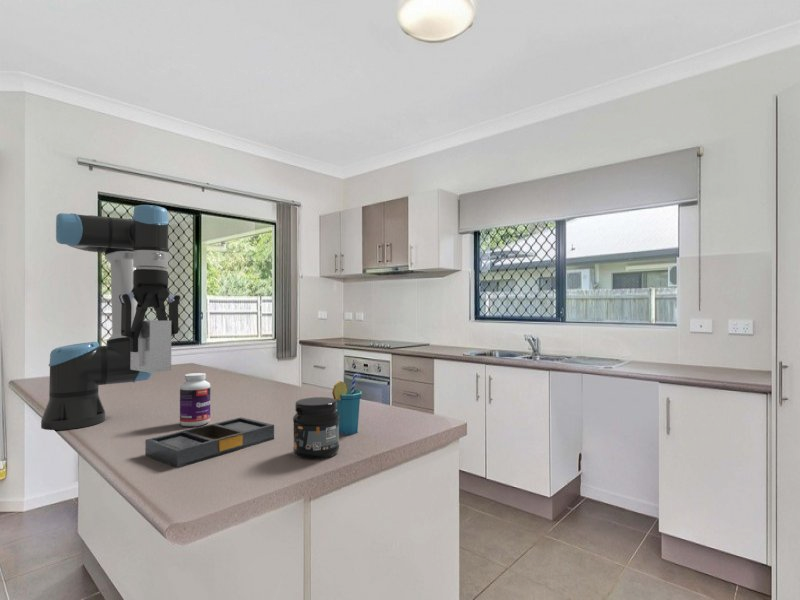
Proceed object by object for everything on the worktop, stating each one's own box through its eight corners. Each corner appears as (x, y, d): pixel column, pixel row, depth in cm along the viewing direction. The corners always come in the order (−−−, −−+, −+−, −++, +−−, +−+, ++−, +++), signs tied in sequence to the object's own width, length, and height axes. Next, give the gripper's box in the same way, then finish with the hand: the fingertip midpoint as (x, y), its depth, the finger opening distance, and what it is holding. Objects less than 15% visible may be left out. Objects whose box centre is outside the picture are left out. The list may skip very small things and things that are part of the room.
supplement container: (299, 445, 107) (299, 396, 108) (342, 446, 107) (342, 396, 107) (287, 461, 97) (287, 406, 97) (335, 461, 96) (334, 406, 97)
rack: (145, 455, 101) (145, 439, 101) (241, 430, 121) (241, 417, 121) (177, 468, 92) (178, 451, 93) (274, 439, 113) (274, 425, 113)
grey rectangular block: (130, 369, 109) (130, 320, 109) (151, 367, 113) (151, 320, 113) (149, 372, 103) (149, 321, 103) (171, 370, 107) (171, 320, 107)
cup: (348, 423, 128) (347, 371, 128) (372, 425, 125) (372, 372, 126) (324, 436, 115) (324, 378, 115) (351, 439, 112) (351, 380, 112)
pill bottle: (198, 428, 123) (198, 376, 124) (173, 427, 125) (173, 376, 125) (216, 421, 131) (216, 372, 132) (192, 419, 133) (192, 371, 133)
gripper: (116, 265, 99) (116, 369, 98) (194, 270, 113) (194, 361, 113) (103, 267, 103) (102, 367, 103) (179, 272, 118) (179, 360, 117)
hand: (150, 364), depth 108 cm, fingers closed on grey rectangular block, 5 cm apart
